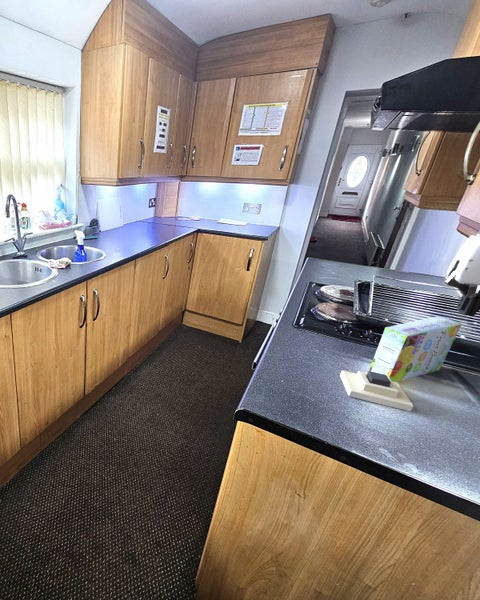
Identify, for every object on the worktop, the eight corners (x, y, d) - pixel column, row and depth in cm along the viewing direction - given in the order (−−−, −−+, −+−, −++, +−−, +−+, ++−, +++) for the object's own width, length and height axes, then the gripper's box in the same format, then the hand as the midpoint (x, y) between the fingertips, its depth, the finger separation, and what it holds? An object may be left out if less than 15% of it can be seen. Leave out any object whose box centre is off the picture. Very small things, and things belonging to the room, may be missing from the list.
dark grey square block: (383, 380, 83) (386, 374, 83) (388, 388, 80) (391, 382, 80) (365, 376, 85) (368, 370, 84) (370, 384, 82) (372, 378, 81)
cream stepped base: (395, 388, 85) (400, 376, 84) (410, 411, 77) (417, 399, 76) (339, 375, 90) (343, 364, 89) (348, 396, 82) (353, 384, 80)
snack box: (416, 360, 97) (438, 314, 91) (440, 371, 92) (465, 323, 86) (364, 373, 91) (384, 326, 85) (387, 385, 86) (410, 336, 80)
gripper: (547, 233, 67) (501, 314, 74) (448, 226, 73) (415, 301, 80) (577, 239, 61) (524, 327, 68) (467, 231, 67) (428, 313, 74)
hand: (465, 313), depth 74 cm, fingers closed
